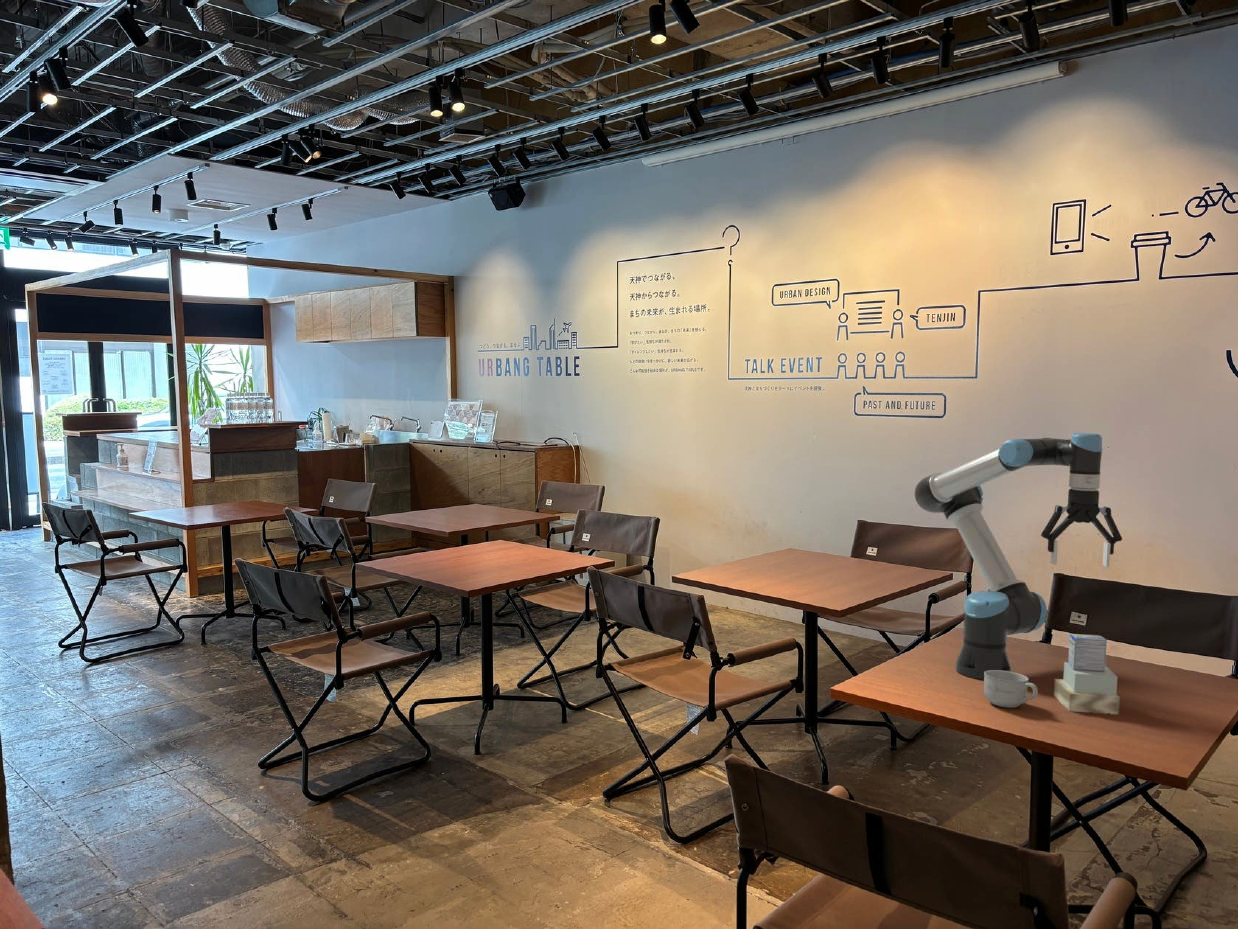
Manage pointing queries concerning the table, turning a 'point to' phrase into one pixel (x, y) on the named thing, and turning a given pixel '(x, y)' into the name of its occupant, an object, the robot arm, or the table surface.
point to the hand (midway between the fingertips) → (1079, 565)
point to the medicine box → (1087, 652)
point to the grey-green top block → (1090, 681)
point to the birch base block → (1085, 700)
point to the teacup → (1007, 688)
